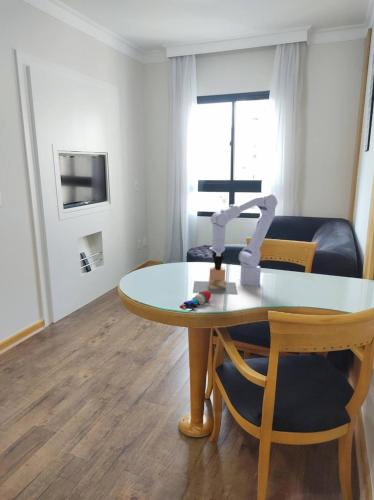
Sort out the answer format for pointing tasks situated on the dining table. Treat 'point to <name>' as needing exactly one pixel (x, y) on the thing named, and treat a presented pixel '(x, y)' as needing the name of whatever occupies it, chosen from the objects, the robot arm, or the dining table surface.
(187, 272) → the dining table surface
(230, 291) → the build plate
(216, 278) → the terracotta brick
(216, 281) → the oak brick
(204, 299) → the toy figure
